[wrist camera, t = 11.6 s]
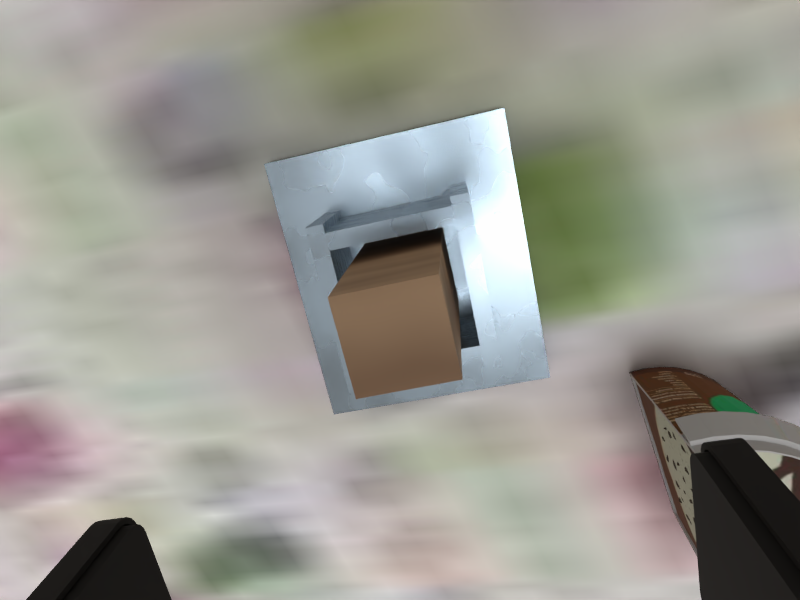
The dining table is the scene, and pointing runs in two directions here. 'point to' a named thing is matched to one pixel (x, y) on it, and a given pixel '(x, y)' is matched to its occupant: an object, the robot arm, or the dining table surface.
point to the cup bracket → (410, 213)
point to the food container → (706, 432)
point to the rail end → (399, 315)
